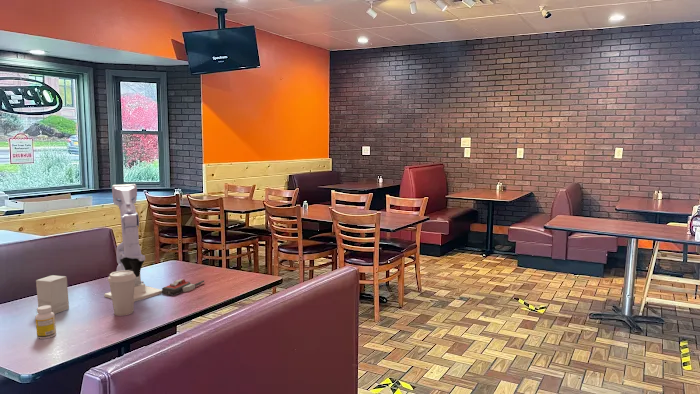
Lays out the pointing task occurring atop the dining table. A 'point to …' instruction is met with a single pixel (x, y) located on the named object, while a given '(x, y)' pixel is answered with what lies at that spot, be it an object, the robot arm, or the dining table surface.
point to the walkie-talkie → (179, 287)
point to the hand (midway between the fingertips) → (133, 275)
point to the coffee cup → (122, 291)
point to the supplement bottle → (45, 322)
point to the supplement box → (53, 293)
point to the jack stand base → (141, 292)
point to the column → (137, 280)
